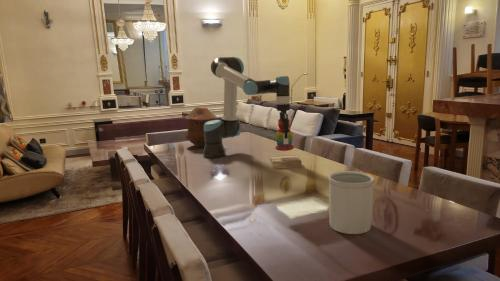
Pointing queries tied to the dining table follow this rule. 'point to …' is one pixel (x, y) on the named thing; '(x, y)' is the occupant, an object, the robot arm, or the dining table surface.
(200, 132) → the pottery vessel
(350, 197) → the utensil holder
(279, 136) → the stacking bear
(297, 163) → the maple block
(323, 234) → the dining table surface
